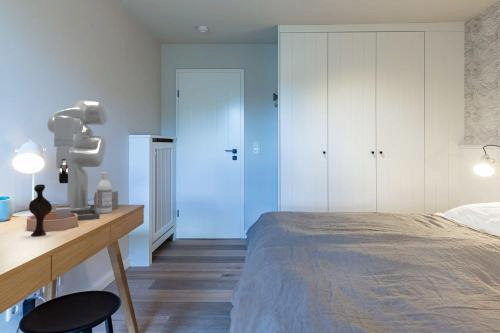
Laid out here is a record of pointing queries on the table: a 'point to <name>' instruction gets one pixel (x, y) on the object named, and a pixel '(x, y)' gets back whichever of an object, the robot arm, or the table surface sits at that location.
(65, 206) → the greyish beige block
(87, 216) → the tray
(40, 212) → the figurine
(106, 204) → the bath foam
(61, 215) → the grey sharp-edged cuboid
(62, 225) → the bowl
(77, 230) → the table surface
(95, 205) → the fossil
